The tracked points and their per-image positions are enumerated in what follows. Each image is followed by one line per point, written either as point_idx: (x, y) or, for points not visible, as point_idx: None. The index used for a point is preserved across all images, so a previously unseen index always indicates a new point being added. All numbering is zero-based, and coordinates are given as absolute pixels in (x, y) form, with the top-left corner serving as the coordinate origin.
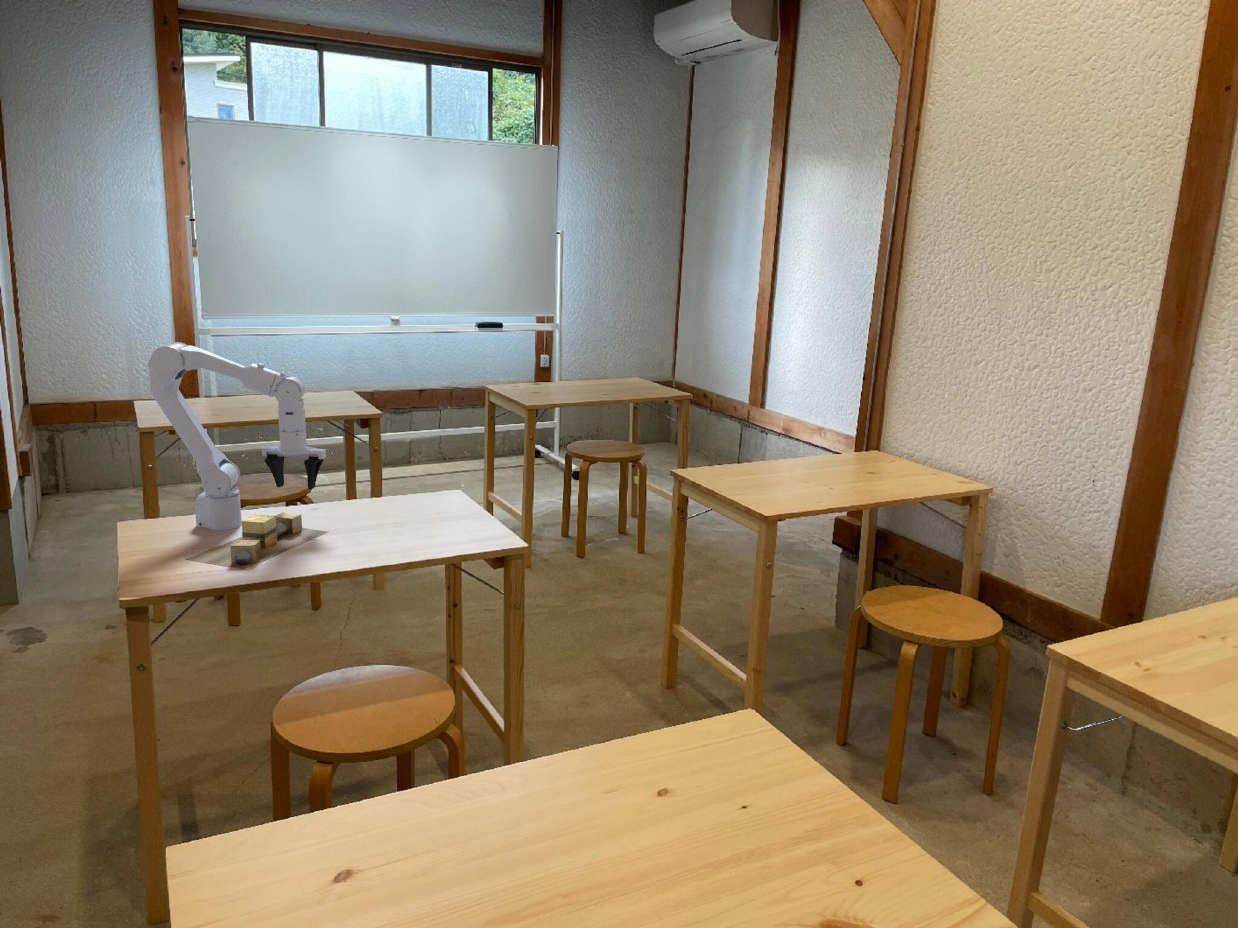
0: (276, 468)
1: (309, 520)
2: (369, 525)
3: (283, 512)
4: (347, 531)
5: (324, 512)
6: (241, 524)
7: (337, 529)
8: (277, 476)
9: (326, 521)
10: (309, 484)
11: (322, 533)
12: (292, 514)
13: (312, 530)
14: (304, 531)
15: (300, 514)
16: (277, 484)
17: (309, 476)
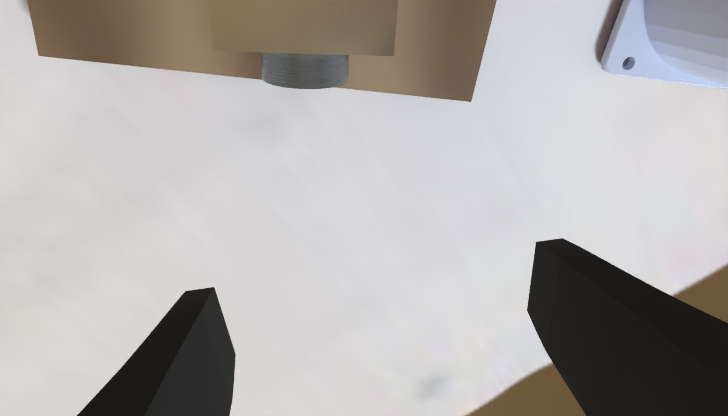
0: (721, 412)
1: (371, 269)
2: (40, 298)
3: (386, 53)
4: (61, 186)
5: (371, 368)
6: (659, 22)
7: (141, 198)
8: (621, 313)
9: (285, 282)
10: (174, 320)
11: (47, 3)
12: (281, 22)
13: (165, 46)
14: (198, 7)
15: (215, 42)
16: (570, 250)
17: (113, 406)
